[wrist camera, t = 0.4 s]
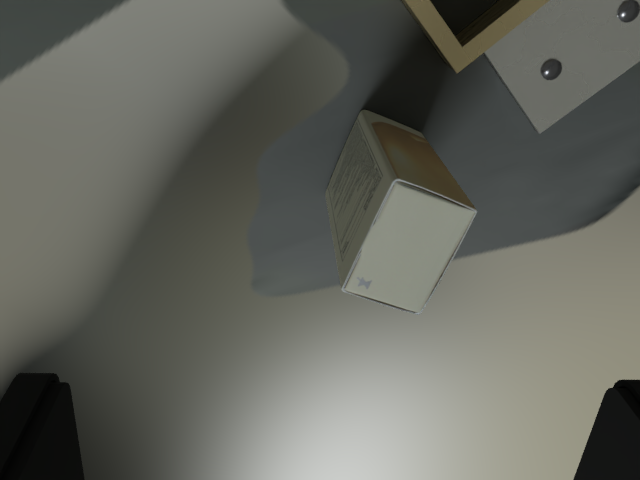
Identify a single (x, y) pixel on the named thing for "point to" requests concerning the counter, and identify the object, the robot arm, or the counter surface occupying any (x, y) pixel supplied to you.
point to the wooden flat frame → (542, 48)
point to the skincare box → (394, 214)
